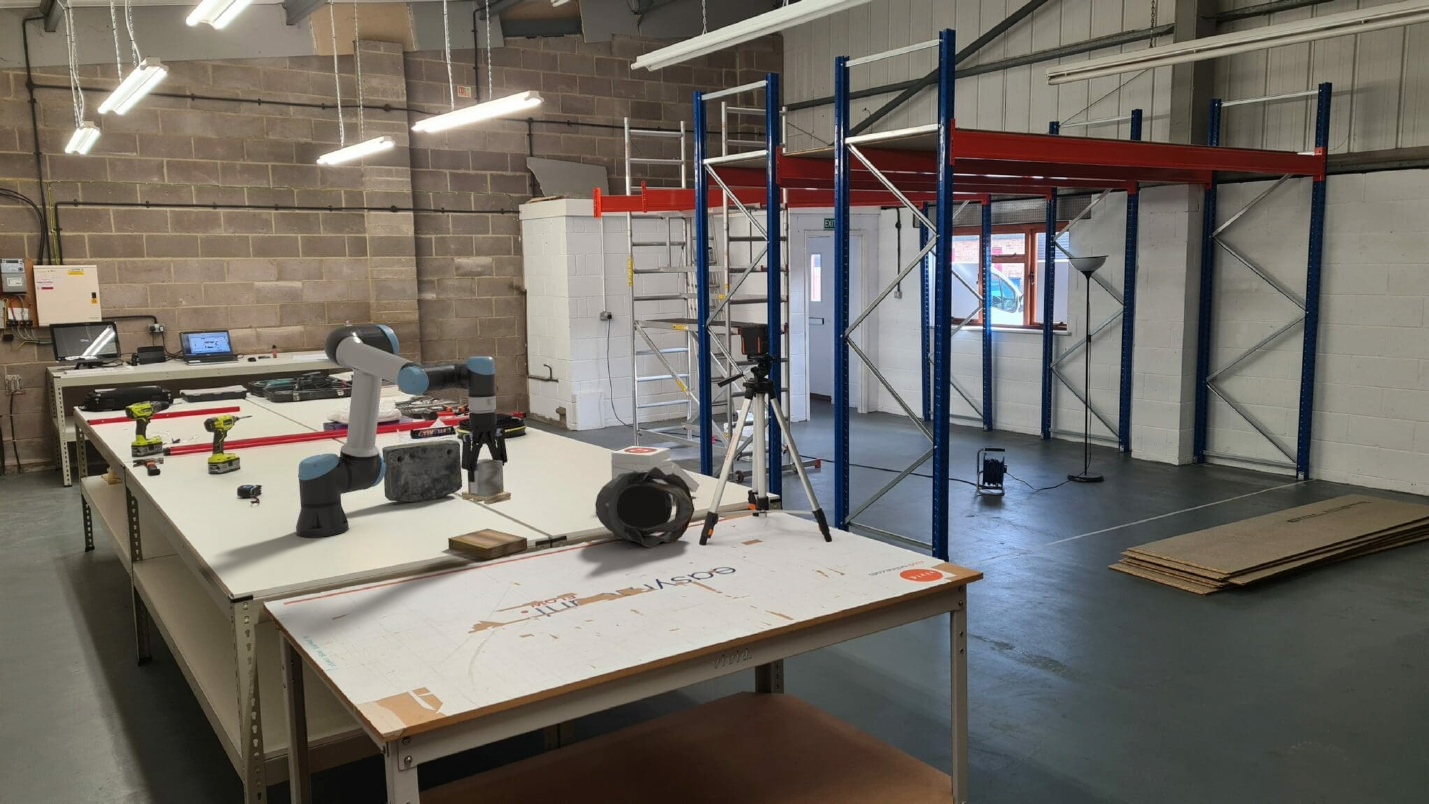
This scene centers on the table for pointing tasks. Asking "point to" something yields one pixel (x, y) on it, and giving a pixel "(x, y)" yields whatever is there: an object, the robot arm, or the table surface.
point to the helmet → (645, 507)
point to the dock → (487, 543)
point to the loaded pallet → (488, 483)
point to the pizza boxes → (648, 463)
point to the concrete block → (422, 470)
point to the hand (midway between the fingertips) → (485, 490)
